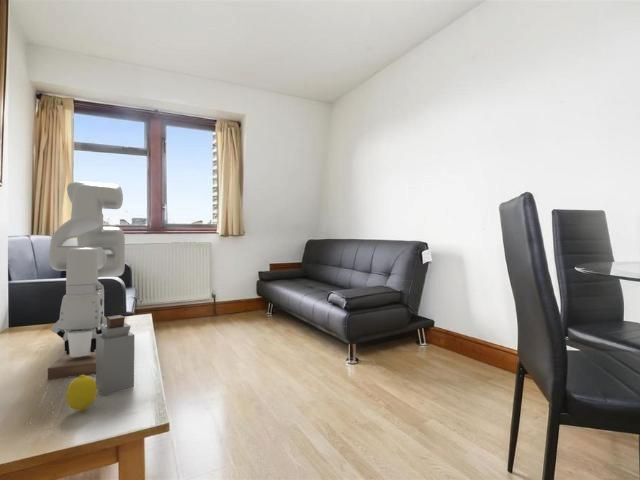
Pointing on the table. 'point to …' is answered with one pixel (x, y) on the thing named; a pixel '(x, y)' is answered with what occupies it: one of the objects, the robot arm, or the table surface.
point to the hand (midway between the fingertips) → (81, 351)
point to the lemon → (81, 393)
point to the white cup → (80, 342)
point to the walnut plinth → (73, 366)
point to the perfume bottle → (114, 357)
